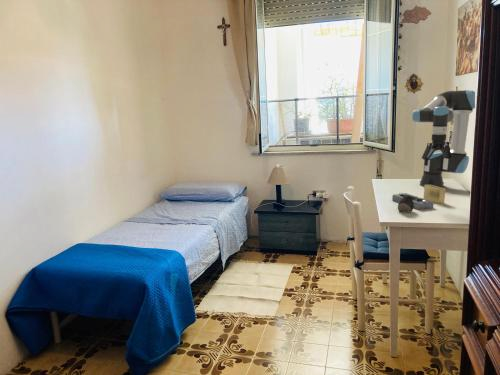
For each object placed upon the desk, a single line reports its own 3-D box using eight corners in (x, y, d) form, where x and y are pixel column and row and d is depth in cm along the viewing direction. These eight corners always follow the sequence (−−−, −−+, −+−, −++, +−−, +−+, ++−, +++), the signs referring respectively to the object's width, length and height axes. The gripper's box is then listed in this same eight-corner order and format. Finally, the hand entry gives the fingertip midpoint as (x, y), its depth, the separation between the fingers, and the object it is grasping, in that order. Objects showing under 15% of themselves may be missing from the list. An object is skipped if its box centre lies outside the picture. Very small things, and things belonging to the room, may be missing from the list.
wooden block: (428, 198, 235) (429, 184, 233) (444, 203, 224) (445, 188, 222) (423, 199, 234) (424, 184, 232) (438, 204, 223) (440, 189, 221)
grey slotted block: (405, 198, 235) (406, 191, 235) (433, 207, 215) (433, 200, 214) (392, 200, 232) (392, 193, 231) (418, 209, 212) (419, 202, 211)
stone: (400, 214, 212) (394, 202, 207) (403, 204, 216) (397, 192, 211) (414, 213, 207) (408, 202, 202) (417, 203, 211) (411, 191, 206)
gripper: (426, 135, 213) (423, 172, 217) (461, 133, 220) (457, 169, 225) (416, 134, 220) (414, 170, 224) (450, 132, 227) (447, 167, 232)
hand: (435, 170), depth 225 cm, fingers open, 13 cm apart
